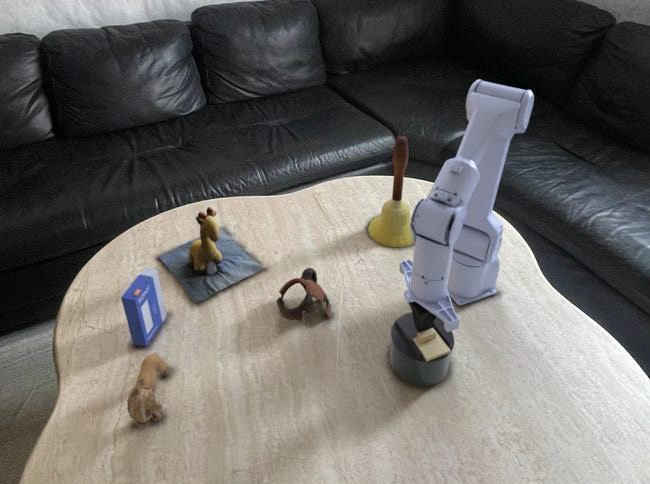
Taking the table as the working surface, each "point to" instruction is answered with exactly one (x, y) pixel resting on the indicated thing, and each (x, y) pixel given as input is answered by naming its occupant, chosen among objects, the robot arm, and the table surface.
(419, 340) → the slider
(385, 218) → the handbell
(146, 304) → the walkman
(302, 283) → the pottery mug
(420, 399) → the table surface
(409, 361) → the canister
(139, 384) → the lion figurine
